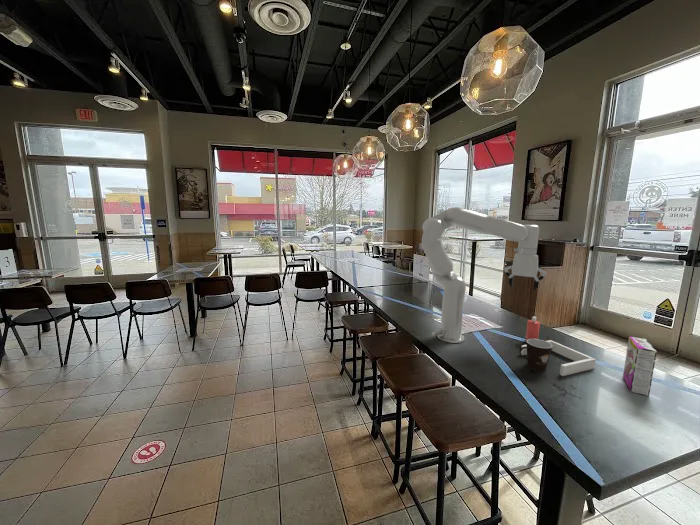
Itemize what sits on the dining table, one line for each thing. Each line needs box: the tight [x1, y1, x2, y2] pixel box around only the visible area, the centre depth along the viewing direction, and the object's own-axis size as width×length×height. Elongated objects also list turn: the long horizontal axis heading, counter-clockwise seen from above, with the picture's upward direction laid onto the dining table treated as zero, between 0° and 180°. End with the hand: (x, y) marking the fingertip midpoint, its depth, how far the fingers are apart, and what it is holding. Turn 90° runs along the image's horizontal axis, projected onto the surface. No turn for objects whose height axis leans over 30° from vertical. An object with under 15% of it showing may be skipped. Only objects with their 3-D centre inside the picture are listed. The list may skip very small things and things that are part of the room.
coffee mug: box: [518, 338, 552, 372], centre depth 116 cm, size 12×9×10 cm
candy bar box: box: [622, 336, 657, 397], centre depth 102 cm, size 11×5×16 cm, turn 148°
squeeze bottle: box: [525, 316, 541, 343], centre depth 138 cm, size 5×5×12 cm
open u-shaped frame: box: [520, 339, 597, 377], centre depth 121 cm, size 17×18×4 cm
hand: (522, 287), depth 137 cm, fingers open, 9 cm apart
